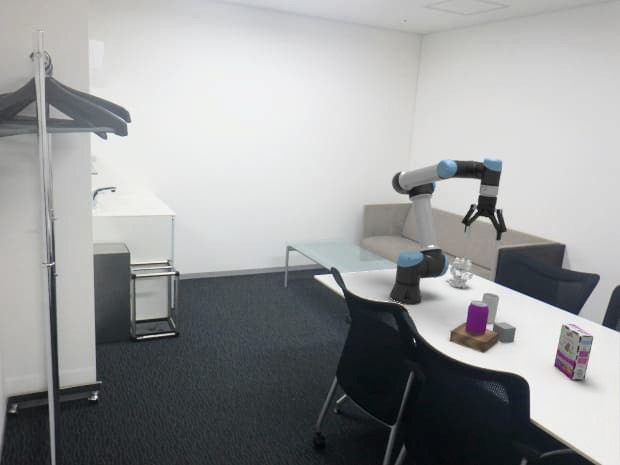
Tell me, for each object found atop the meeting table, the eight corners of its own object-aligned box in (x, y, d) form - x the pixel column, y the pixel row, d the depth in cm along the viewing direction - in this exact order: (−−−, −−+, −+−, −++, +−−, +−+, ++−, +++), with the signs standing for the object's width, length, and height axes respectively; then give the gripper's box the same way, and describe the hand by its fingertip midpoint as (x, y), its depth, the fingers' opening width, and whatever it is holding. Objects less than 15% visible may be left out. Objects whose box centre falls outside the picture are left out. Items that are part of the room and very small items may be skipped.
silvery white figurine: (443, 279, 279) (447, 248, 275) (461, 280, 280) (465, 250, 276) (455, 290, 259) (459, 258, 256) (474, 291, 260) (478, 259, 256)
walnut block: (449, 340, 194) (451, 330, 193) (464, 331, 204) (465, 322, 204) (484, 352, 185) (485, 342, 184) (497, 342, 196) (499, 332, 195)
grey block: (491, 337, 201) (493, 323, 199) (502, 335, 203) (504, 322, 202) (502, 343, 195) (504, 329, 194) (513, 341, 198) (516, 327, 197)
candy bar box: (585, 380, 169) (594, 336, 165) (571, 380, 168) (580, 336, 165) (566, 365, 179) (574, 323, 176) (553, 365, 179) (561, 323, 176)
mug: (497, 324, 215) (501, 298, 213) (481, 323, 215) (486, 297, 213) (490, 316, 225) (494, 291, 222) (475, 314, 225) (479, 289, 223)
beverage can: (486, 330, 196) (490, 302, 194) (484, 337, 189) (488, 308, 187) (466, 326, 199) (470, 298, 197) (463, 332, 192) (468, 304, 190)
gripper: (457, 191, 214) (451, 238, 219) (511, 200, 196) (502, 251, 200) (467, 190, 219) (461, 237, 223) (520, 199, 200) (512, 249, 205)
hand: (480, 244), depth 212 cm, fingers open, 13 cm apart
